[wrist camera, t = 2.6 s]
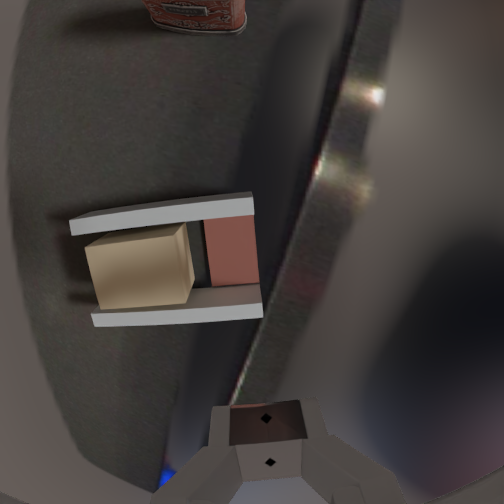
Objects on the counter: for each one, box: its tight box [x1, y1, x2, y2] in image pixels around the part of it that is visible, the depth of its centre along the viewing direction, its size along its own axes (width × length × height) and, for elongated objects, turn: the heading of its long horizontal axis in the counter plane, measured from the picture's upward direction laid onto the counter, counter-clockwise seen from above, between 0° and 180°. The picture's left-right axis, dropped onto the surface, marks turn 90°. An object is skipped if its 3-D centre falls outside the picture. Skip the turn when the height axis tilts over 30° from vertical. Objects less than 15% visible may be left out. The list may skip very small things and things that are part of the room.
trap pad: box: [204, 215, 259, 286], centre depth 27 cm, size 6×4×1 cm, turn 5°
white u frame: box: [69, 192, 263, 327], centre depth 25 cm, size 9×14×4 cm, turn 95°
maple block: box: [85, 222, 195, 310], centre depth 25 cm, size 5×7×5 cm
